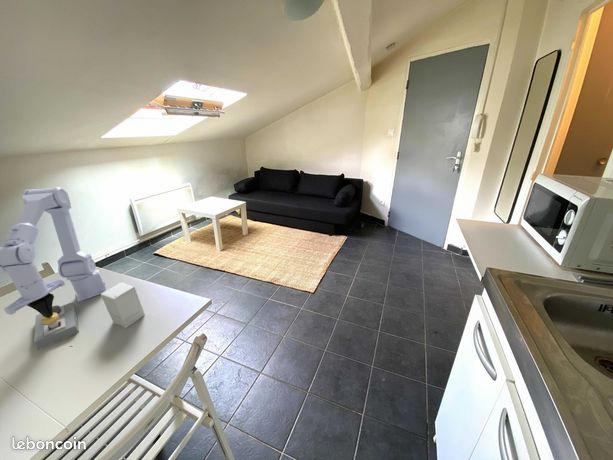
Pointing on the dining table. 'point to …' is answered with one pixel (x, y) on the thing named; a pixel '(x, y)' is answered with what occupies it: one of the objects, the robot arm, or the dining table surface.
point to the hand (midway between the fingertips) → (48, 316)
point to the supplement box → (123, 304)
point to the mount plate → (66, 329)
